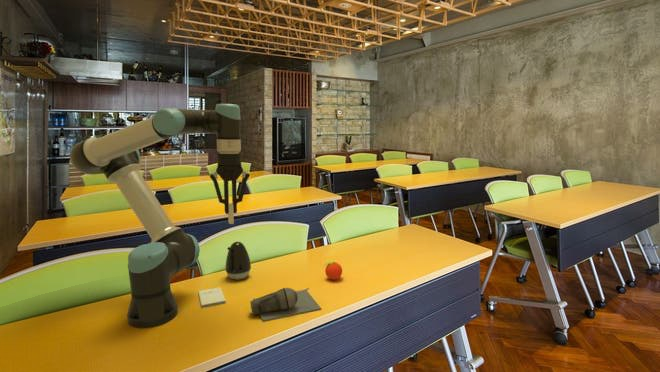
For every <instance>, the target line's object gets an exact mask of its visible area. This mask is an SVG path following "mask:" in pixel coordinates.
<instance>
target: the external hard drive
mask: <svg viewBox="0 0 660 372" xmlns="http://www.w3.org/2000/svg"><path fill="white" fill-rule="evenodd" d="M197 294H198V298H199V303H200V307H201V309H203V308H209V307H214V306H219V305H224V304H227V303H226V302H227V301H226V299H225V296H224V293H223V291H222V288H221V287H220V286H219V287H214V288H208V289H203V290H202V289H201V290H199V291H197Z"/></svg>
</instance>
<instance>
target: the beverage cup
mask: <svg viewBox="0 0 660 372" xmlns="http://www.w3.org/2000/svg"><path fill="white" fill-rule="evenodd" d="M301 290H302V291H300V290H299V291H300V292H297V293H296V291H297V290H295V289H293V288H291V287H283V288H281V289H279V290H277V291H275V292H272V293H268V294H266V295H263V296H259V297H258V298H257V299H256V298H254V299H255V300H253V299H252V300H250V301H249V303H250V308H251V315H253V316H254V315H260V314H262V313H267V312H273V311H278V310H287V309H290V308H292V307H294V306H295V304H296V303H297V300H298V297H297V294H299V293H301V292H304V291H306V290H307V291H309V290H310V288H309V287H308V288H305V289H301Z"/></svg>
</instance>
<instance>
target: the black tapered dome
mask: <svg viewBox="0 0 660 372" xmlns="http://www.w3.org/2000/svg"><path fill="white" fill-rule="evenodd" d="M226 249H227V250H228V251H227V255H226V260H225V267H224V269H225V272H226V274H227V276H228V277H229V278H230V279H231V280H235V281H236V280H243V279H245V278H247V277H248V275H249V274H250V271H251V270H252V265H251V259H250V256H249V252H248V250H247V248H246V246H245V245H244V243H243V242H241V241H234V242H232V243H231V245H230V246H228V247H227V248H226Z"/></svg>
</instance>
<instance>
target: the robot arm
mask: <svg viewBox="0 0 660 372" xmlns="http://www.w3.org/2000/svg"><path fill="white" fill-rule="evenodd" d="M241 118H242V117H241V109H240V106H239V105H238V104H233V103H217V104H216V105H215V109H212V110H209V109H206V110H205V109H189V108H188V109H187V108H174V107H166V108H165V107H162V108H159V109H158V110H156V111H155V113H154V114H153V116H151V117H148V118H145V119H142V120H141V121H139V122H136V123H133V124H131V125H128V126H125V127H123V128H120V129H117V130H116V131H114V132H111V133H108V134H106V135H103V136H100V137H96V136H94V137H93V136H92V137H89V138H86V139H84V140H82V141H78V142H77V143H76V144H75V145H73V147H72V148H71V150H70V153H69V159H70V162H71V164H72V166H73V167H74V169H76V170H77V171H79V172H80V173H83V174H86V175H90V176H91V175H94V176H95V175H104V176H105V177H106V179H107V181H108V182H109V183H112V184H116V186H117V188H118V189H119V191H120V193H121V194H122V195H123V197H124V199H126V202H127V203H128V205H129V206H130V207H131V208H130V209H132V211H133V213H134V214H135V216H136V217H137V219H138V220H139V222H140V223H141V225H142V226H143V228H144V229H145V231H146V232H147V234H148V236H149V237H150V238H151V241H150V242H148V243H147V244H145V243H144V244H141V245H138V246H137V247H135V248H133V249H132V250H131V251H130V252H129V253H128V255H127V261H128V262H127V269H128V275H129V277H128V278H129V286H130V297H131V298H130V301H129V305H128V310H127V315H126V318H127V324H128V325H129V326H132V327H135V328H140V327H144V328H152V327H157V326H160V325H163V324H165V323H167V322H169V321H171V320H173V319H174V318H175V317H176V316H177V315H178V313H179V306H178V303H177V300H176V298H175V297H174V294H173V292H172V289H171V277H173V276H175V275H177V274H178V273H181V272H182V271H183V270H186V269H188V268H190V267H191V266H192V265H193V264H195V263H196V262H197V260H198V259H199V256H200V250H201V248H200V244H199V242H198V240H197V238H196V236H194V235H192V234H189V233H185V232H184V230H183V229H182V228H181V227H179V226H175V225H174V224H173V223H174V222H172V220H171V219H170V217H169V216H168V214H167V212H166V211H165V209H164V208H163V207H162V205H161V203H160V202H159V200H158V198H157V197H156V195H155V194H154V192H153V191H152V190H151V187H150V186H149V184H148V183H147V182H146V180H145V178H144V176H142V174H141V172H140V170H141V167H142V166H141V164H140V162H141V158H140V156H141V153H140V150H141V149H143V148H146V147H149V146H151V145H155V144H156V143H159V142H161V141H165V140H167V139H171V138H173V137H175V136H178V135H191V134H216V151H217V152H218V153H217V154H216V155H217V160H216V161H217V166H216V169H215V171H214V172H213V173H210V174H209V178H210V179H211V181H212V182H213V185H214V188H215V189H214V190H215V192H216V195H217V199H218V203H220V204H224V213H225V214H226V215H228V216H227V217H228V218H227V220H228V224H229V225H234V223H235V221H234V220H235V217H234V215H235V214H237V213H238V209H237V208H238V203H242V202H243V198H244V195H245V191H246V190H245V189H246V185H247V181H248V180H249V178H250V176H251V175H250V173H249V172H246V171H245V170H244V168H243V167H242V154H241V153H240V152H241V151H242V145H241V144H242V142H241V141H242V138H241ZM218 176H219V178H221V180H223V196H222V192H221V189H220V186H219V183H218ZM240 176H241V178H242V179H241V181H240V186H239V191H238V190H237V189H238V188H237V182H238V181H237V180H238V179H239V178H240ZM229 182H231V199H232V201H231V202H229V200H230V199H229V195H230V194H229ZM237 191H238V192H237Z"/></svg>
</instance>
